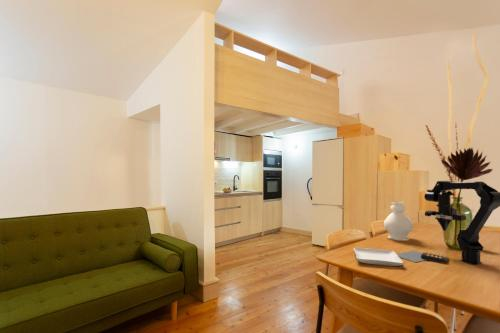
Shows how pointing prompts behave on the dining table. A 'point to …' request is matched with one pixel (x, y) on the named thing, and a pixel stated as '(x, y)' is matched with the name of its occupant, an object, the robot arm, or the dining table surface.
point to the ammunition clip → (434, 257)
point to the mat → (411, 256)
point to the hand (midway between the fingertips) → (444, 230)
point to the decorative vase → (398, 222)
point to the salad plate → (377, 256)
